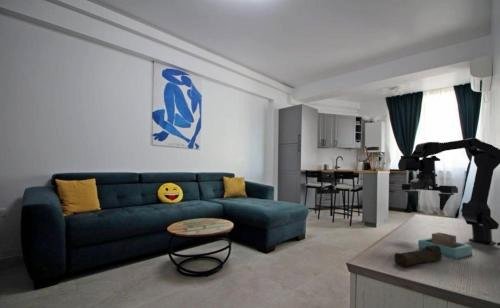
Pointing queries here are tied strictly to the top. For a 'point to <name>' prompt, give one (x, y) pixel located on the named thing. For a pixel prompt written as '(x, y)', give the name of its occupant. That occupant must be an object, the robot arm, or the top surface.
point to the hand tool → (418, 256)
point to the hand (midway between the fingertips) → (428, 208)
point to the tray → (448, 248)
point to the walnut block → (444, 240)
